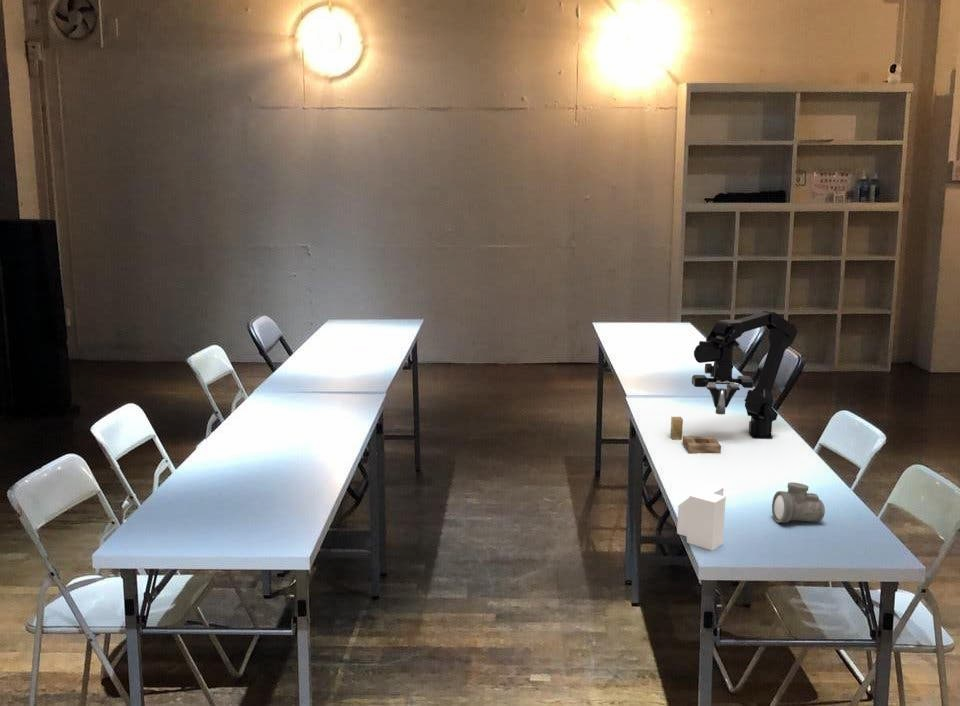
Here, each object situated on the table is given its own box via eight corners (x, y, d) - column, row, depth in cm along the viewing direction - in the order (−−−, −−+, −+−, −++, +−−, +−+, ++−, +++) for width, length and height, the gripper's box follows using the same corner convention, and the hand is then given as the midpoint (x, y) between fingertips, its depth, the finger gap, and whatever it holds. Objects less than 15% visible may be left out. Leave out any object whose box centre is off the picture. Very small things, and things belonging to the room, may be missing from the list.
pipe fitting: (779, 526, 233) (786, 487, 232) (768, 517, 241) (774, 478, 240) (825, 531, 234) (832, 492, 233) (812, 521, 242) (819, 483, 241)
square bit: (679, 437, 309) (681, 416, 307) (681, 439, 306) (682, 419, 304) (670, 436, 309) (671, 416, 308) (672, 439, 306) (673, 419, 304)
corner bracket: (712, 550, 220) (715, 502, 217) (670, 537, 227) (672, 491, 225) (732, 537, 227) (736, 490, 225) (691, 524, 235) (694, 480, 232)
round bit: (723, 412, 302) (725, 388, 300) (726, 414, 299) (727, 390, 297) (714, 411, 302) (716, 388, 300) (716, 414, 299) (718, 390, 297)
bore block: (713, 444, 301) (713, 436, 301) (720, 453, 292) (721, 445, 291) (682, 443, 302) (682, 436, 301) (688, 453, 292) (689, 445, 291)
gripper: (746, 355, 304) (743, 401, 308) (689, 354, 305) (686, 400, 308) (755, 362, 293) (752, 410, 297) (696, 361, 294) (693, 409, 297)
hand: (720, 407), depth 300 cm, fingers closed on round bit, 3 cm apart
